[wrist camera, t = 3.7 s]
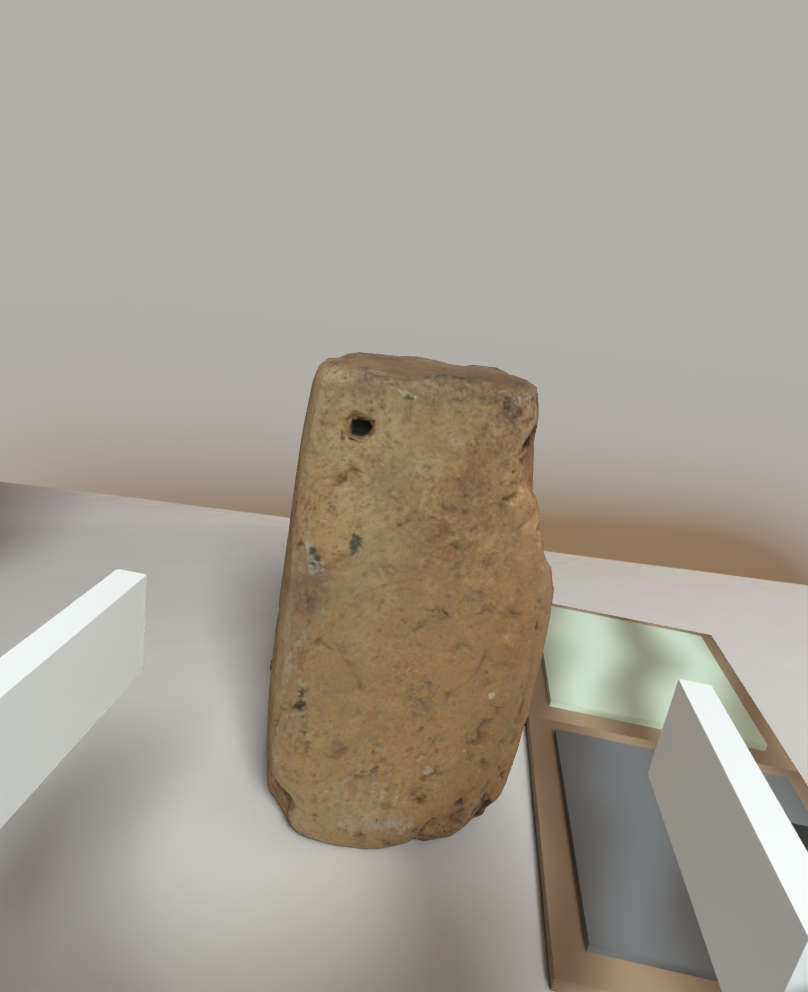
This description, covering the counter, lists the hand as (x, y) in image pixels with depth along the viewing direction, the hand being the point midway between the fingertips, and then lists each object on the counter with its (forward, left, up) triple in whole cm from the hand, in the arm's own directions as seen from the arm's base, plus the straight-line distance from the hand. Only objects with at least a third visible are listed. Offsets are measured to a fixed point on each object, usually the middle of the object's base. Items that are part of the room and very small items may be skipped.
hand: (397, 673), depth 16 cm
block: (0, +11, -14) cm, 18 cm away
